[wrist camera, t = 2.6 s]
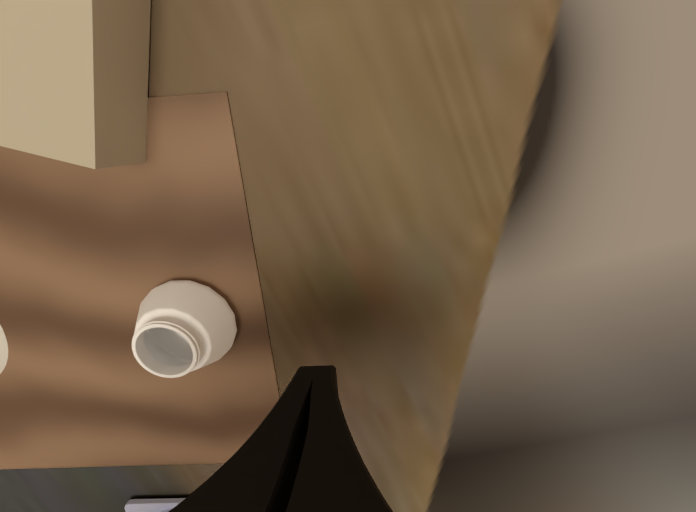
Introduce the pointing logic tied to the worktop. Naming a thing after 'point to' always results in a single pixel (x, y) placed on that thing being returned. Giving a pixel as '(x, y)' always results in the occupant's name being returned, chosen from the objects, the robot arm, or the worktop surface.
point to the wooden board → (127, 299)
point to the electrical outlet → (75, 79)
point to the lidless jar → (182, 329)
